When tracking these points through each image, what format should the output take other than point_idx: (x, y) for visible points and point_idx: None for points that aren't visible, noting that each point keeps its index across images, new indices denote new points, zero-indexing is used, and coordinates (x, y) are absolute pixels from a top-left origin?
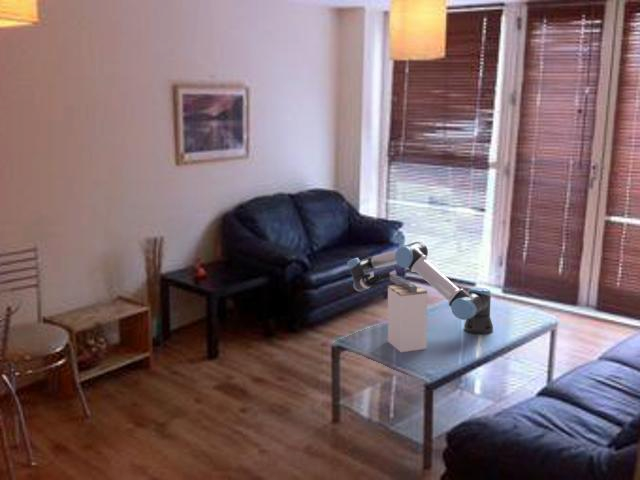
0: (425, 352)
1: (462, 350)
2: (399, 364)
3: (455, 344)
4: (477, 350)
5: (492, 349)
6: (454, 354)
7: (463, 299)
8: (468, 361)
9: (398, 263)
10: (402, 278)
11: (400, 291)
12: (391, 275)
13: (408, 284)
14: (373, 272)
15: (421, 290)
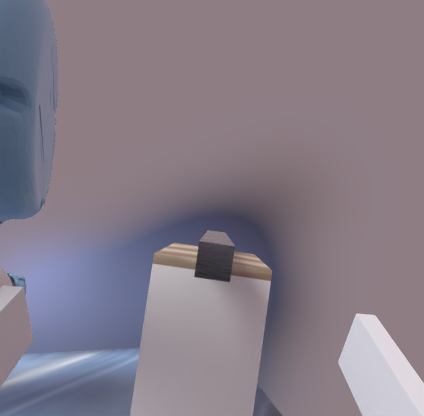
0: None
1: (79, 379)
2: (258, 392)
3: (50, 407)
4: (53, 367)
5: (22, 358)
6: (116, 375)
7: (20, 275)
8: (123, 352)
9: (35, 182)
10: (206, 235)
11: (247, 256)
12: (233, 244)
13: (222, 233)
14: (353, 323)
15: (185, 245)
